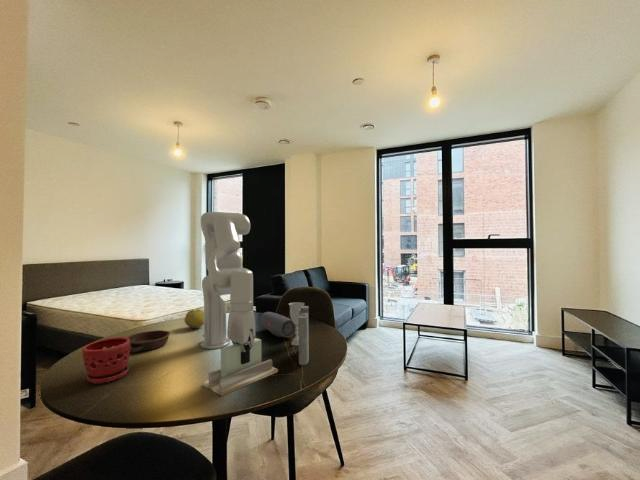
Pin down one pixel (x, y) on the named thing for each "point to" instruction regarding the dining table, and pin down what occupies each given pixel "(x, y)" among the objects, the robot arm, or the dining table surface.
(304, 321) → the hip flask
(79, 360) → the dining table surface
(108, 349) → the plant pot
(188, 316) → the fruit
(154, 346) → the dish
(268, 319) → the bluetooth speaker
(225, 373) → the door panel
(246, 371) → the track
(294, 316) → the chalice
